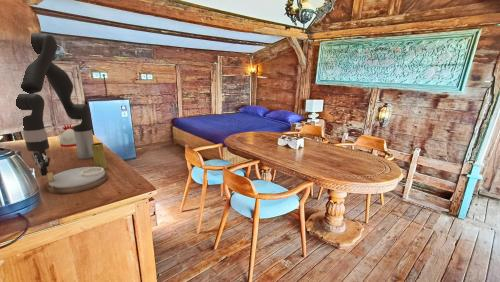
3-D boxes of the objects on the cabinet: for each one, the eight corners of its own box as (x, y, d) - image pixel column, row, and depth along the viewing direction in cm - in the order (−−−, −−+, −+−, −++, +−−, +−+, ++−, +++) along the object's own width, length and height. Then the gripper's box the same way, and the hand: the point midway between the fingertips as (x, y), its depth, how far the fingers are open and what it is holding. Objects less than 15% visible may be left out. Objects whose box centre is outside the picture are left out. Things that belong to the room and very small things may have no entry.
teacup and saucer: (67, 137, 192) (66, 133, 191) (70, 139, 187) (69, 134, 186) (54, 139, 185) (53, 134, 184) (57, 141, 180) (55, 136, 179)
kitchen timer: (65, 142, 178) (61, 123, 174) (86, 141, 182) (83, 122, 178) (57, 147, 165) (52, 126, 161) (79, 146, 169) (76, 126, 165)
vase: (91, 169, 129) (87, 144, 125) (101, 165, 134) (97, 142, 130) (100, 171, 127) (96, 146, 123) (109, 167, 132) (106, 143, 129)
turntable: (54, 174, 117) (52, 163, 116) (105, 166, 128) (104, 157, 126) (43, 192, 99) (40, 180, 97) (104, 182, 109) (102, 171, 108)
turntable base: (37, 185, 109) (36, 179, 109) (92, 169, 129) (91, 163, 129) (61, 199, 98) (60, 192, 97) (117, 179, 118) (116, 173, 117)
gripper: (19, 138, 104) (28, 174, 108) (31, 143, 97) (40, 181, 102) (40, 135, 110) (48, 169, 115) (53, 139, 104) (60, 175, 108)
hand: (44, 175), depth 108 cm, fingers closed
